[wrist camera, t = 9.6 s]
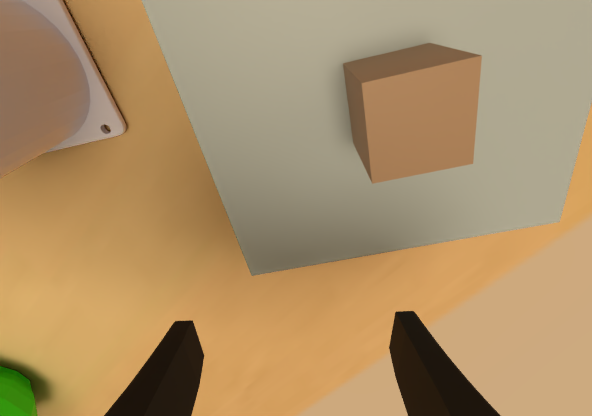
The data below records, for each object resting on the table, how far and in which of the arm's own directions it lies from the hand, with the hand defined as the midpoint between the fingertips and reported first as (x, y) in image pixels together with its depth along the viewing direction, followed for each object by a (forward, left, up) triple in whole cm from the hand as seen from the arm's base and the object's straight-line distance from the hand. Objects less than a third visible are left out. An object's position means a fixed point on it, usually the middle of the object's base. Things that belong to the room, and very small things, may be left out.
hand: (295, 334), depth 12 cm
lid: (+5, +6, -5) cm, 10 cm away
